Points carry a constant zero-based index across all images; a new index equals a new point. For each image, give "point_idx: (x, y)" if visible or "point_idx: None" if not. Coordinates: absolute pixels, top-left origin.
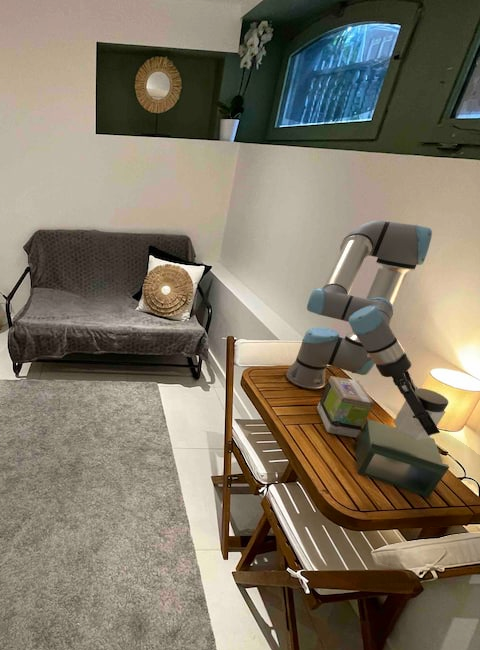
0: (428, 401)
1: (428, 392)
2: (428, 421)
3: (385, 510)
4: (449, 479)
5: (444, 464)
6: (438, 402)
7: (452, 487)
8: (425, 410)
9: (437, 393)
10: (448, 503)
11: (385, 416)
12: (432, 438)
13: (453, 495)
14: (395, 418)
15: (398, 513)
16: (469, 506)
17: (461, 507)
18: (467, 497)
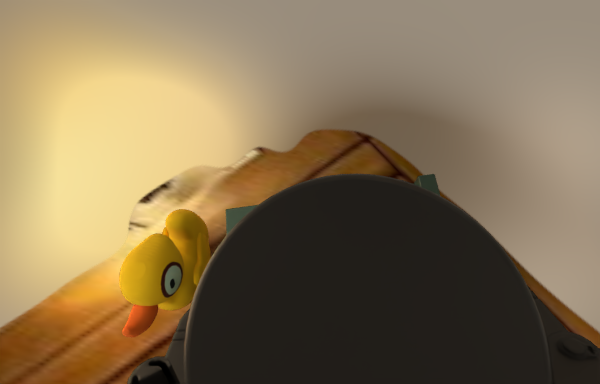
0: (547, 380)
1: (271, 360)
2: (538, 300)
3: (561, 321)
4: (280, 167)
5: (426, 186)
6: (473, 268)
7: (311, 162)
8: (573, 364)
9: (228, 263)
10: (388, 173)
11: (33, 328)
12: (228, 213)
13: (345, 162)
14: (127, 336)
15: (541, 287)
16: (363, 134)
17: (381, 149)
18: (329, 136)
